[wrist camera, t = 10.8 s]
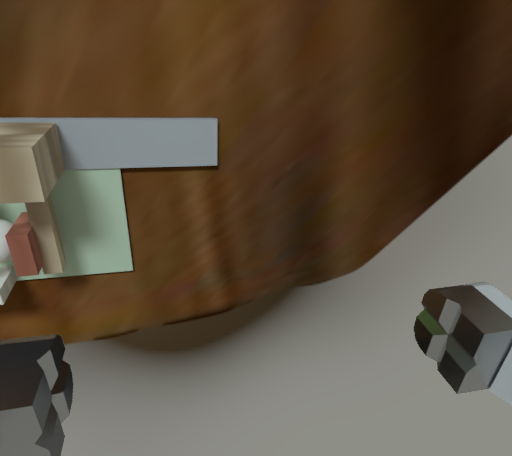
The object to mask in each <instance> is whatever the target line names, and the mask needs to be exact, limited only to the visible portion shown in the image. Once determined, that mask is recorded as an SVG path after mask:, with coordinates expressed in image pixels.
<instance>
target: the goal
mask: <svg viewBox="0 0 512 456" xmlns="http://www.w3.org/2000/svg"><path fill="white" fill-rule="evenodd" d="M17 279H18V278H17V275H16V272H15V269H14V266H8V267H0V305H4V303H5V301H6V299H7V297H8V295H9V294H10V292H11V290H12V288H13V286H14V284H15V282H16V280H17Z"/></svg>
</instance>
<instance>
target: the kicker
mask: <svg viewBox="0 0 512 456" xmlns="http://www.w3.org/2000/svg"><path fill="white" fill-rule="evenodd" d="M64 169H65V167H64V162H63V157H62V152H61V147H60V142H59V137H58V132H57V127H56V123H0V204H7V203H25V206H26V210H27V212H21V214H20V215H19V217H18V218H17V220H16V221H15V223H14V224H13V225H12V227H11V228H10V230H9V231H8V233H7V234H6V236H5V238H6V241H7V244H8V247H9V251H10V254H11V257H12V260H13V263H14V267H15V270H16V273H17V276H18V277H20V276H32V275H38V274H39V272H40V270H41V268H42V269H43V273H44V274H55V273H63V272H64V269H65V266H66V259H65V254H64V250H63V245H62V241H61V237H60V232H59V228H58V224H57V219H56V215H55V211H54V206H53V202H52V198H51V193H50V192H51V191H52V189H53V187H54V186H55V184H56V182H57V181H58V179H59V177H60V176H61V174H62V173H63V171H64Z"/></svg>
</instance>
